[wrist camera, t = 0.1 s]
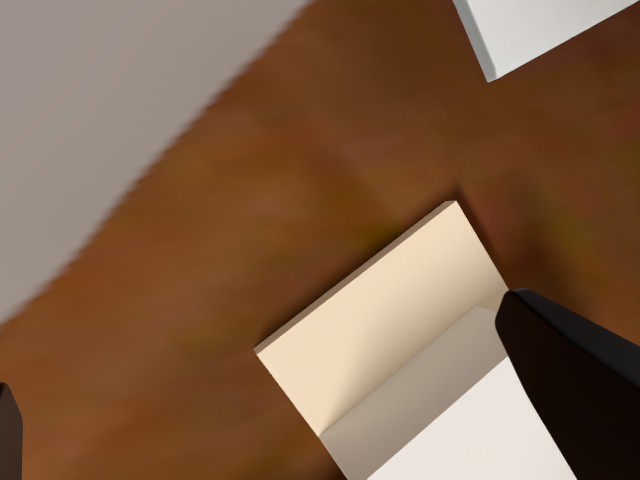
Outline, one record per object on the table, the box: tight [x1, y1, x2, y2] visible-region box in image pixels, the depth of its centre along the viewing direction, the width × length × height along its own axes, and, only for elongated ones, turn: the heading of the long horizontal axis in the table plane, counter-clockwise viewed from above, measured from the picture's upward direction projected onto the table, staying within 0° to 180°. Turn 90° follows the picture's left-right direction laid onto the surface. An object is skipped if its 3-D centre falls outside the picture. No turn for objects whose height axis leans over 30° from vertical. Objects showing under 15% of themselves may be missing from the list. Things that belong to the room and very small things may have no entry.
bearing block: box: [253, 201, 577, 480], centre depth 25 cm, size 18×12×6 cm, turn 35°
